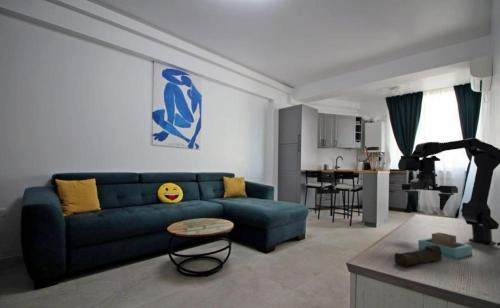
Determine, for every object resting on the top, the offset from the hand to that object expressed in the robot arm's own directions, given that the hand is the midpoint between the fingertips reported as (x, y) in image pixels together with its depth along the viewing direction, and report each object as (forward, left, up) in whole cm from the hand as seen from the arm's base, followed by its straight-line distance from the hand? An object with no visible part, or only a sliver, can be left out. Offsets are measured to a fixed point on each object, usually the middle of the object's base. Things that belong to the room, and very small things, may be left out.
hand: (428, 208), depth 96 cm
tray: (+11, +10, -13) cm, 20 cm away
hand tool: (+30, +12, -14) cm, 35 cm away
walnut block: (+11, +10, -12) cm, 19 cm away
